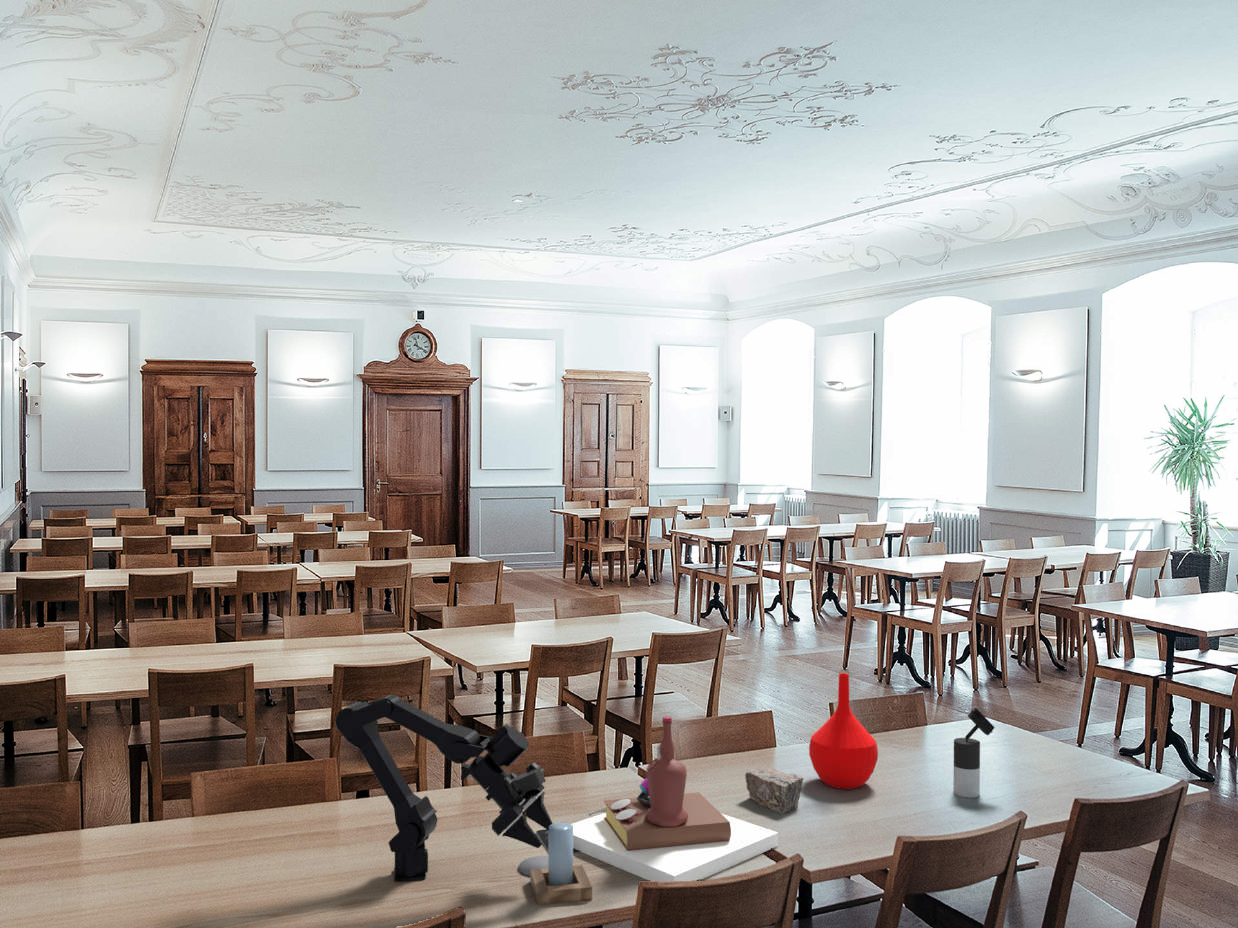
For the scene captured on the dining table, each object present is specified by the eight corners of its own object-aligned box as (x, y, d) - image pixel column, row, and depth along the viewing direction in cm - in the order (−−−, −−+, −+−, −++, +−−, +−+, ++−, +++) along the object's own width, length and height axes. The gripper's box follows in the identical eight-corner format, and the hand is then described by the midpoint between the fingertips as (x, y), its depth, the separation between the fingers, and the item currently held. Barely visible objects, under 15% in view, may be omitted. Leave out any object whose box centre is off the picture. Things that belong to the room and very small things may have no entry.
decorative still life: (651, 803, 261) (652, 684, 261) (778, 847, 232) (779, 713, 232) (547, 839, 236) (548, 707, 236) (674, 892, 208) (675, 742, 208)
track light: (972, 809, 266) (1022, 753, 268) (930, 766, 264) (981, 709, 266) (960, 801, 273) (1009, 746, 275) (918, 758, 270) (968, 703, 273)
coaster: (522, 878, 213) (522, 876, 213) (516, 860, 223) (516, 857, 223) (569, 875, 215) (569, 872, 215) (561, 856, 225) (561, 854, 225)
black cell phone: (550, 855, 225) (534, 830, 240) (550, 858, 226) (534, 833, 240) (582, 851, 228) (565, 827, 242) (582, 855, 228) (565, 830, 242)
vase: (825, 768, 290) (826, 664, 289) (888, 781, 279) (888, 672, 279) (797, 785, 275) (798, 675, 275) (861, 799, 264) (862, 684, 264)
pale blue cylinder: (550, 896, 205) (550, 832, 205) (546, 886, 210) (546, 823, 209) (574, 894, 206) (575, 830, 206) (570, 884, 211) (570, 821, 211)
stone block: (808, 807, 258) (808, 777, 258) (784, 815, 252) (784, 784, 252) (767, 792, 269) (767, 764, 269) (743, 799, 263) (743, 770, 263)
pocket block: (537, 904, 201) (537, 891, 201) (530, 881, 212) (530, 869, 212) (592, 899, 203) (592, 886, 203) (582, 877, 214) (582, 865, 214)
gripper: (506, 768, 200) (560, 828, 198) (534, 742, 218) (585, 797, 216) (469, 805, 202) (522, 865, 200) (500, 776, 220) (549, 831, 218)
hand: (546, 837), depth 208 cm, fingers open, 9 cm apart
